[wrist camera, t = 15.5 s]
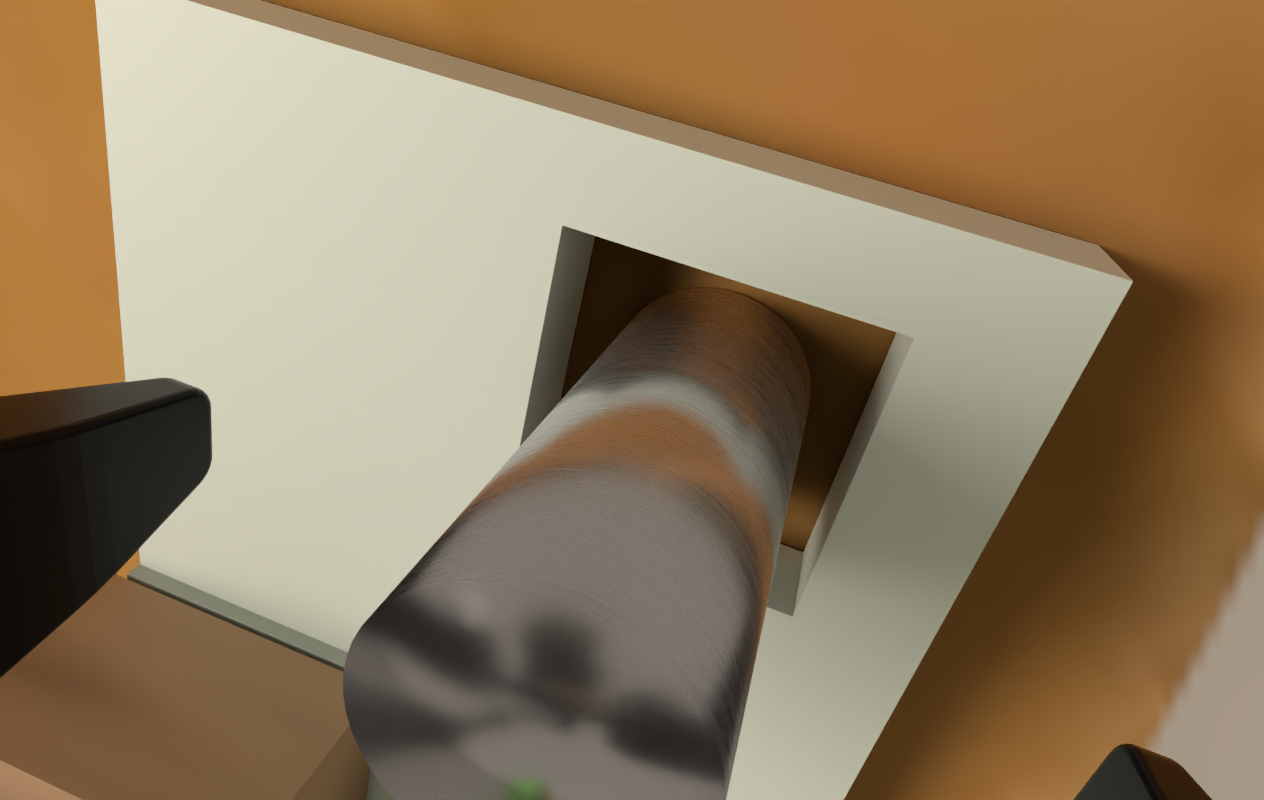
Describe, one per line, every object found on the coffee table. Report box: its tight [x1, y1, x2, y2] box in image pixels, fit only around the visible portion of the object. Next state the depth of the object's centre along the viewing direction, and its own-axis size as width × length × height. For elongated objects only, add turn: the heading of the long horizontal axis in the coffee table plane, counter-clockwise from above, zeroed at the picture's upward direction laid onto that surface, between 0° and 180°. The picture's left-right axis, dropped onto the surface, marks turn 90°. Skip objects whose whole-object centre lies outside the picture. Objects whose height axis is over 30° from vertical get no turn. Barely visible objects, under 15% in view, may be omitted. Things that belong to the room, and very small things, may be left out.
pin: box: [343, 288, 811, 800], centre depth 9 cm, size 3×3×7 cm
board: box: [95, 0, 1133, 800], centre depth 14 cm, size 16×13×2 cm
